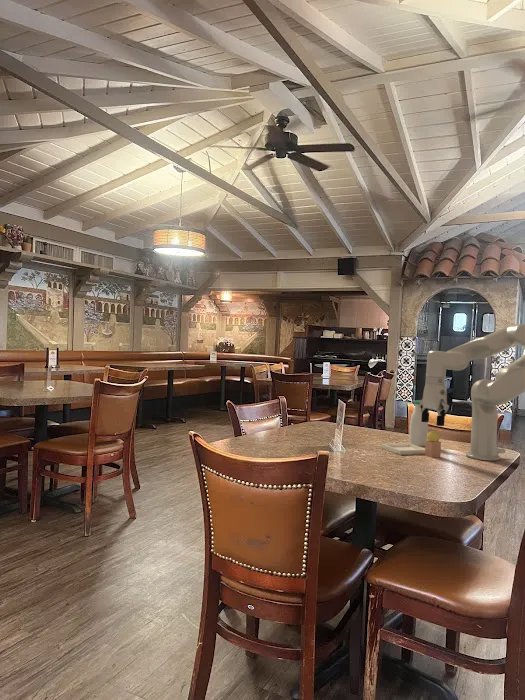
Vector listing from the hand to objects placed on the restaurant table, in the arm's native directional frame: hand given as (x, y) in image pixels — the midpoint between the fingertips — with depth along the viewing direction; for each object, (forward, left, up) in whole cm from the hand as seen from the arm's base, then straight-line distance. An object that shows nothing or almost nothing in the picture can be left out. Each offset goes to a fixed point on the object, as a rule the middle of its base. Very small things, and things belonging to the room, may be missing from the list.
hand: (432, 423), depth 206 cm
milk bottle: (-10, -22, -13) cm, 28 cm away
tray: (+5, -10, -13) cm, 17 cm away
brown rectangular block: (-1, 0, -13) cm, 13 cm away
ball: (-1, 0, -8) cm, 8 cm away
